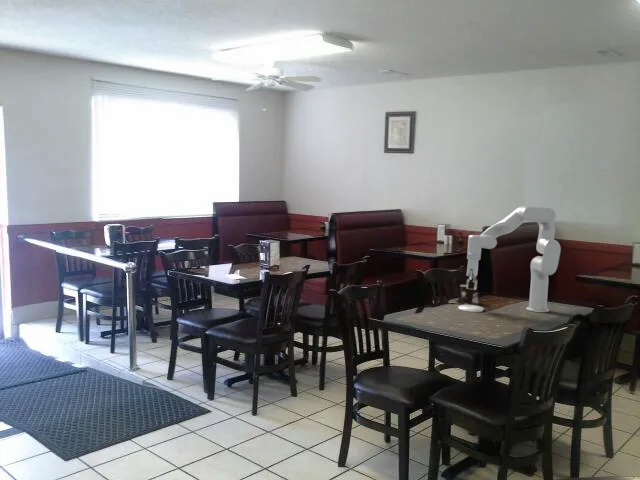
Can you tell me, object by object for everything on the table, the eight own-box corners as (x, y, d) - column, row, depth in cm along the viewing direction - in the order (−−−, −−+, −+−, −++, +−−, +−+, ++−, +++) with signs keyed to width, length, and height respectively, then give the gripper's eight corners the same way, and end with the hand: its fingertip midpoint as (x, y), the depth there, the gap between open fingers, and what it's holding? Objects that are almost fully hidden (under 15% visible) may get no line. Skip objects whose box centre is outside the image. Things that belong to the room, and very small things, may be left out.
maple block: (467, 287, 337) (468, 279, 336) (476, 288, 335) (477, 279, 334) (466, 288, 332) (467, 280, 332) (475, 289, 330) (476, 281, 330)
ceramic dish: (460, 305, 344) (460, 303, 343) (484, 308, 338) (485, 306, 338) (456, 310, 331) (456, 308, 331) (481, 313, 325) (481, 311, 325)
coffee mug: (456, 300, 359) (457, 284, 358) (468, 300, 361) (469, 284, 361) (466, 304, 348) (467, 288, 347) (479, 304, 350) (480, 288, 349)
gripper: (469, 254, 341) (467, 285, 342) (464, 257, 325) (462, 289, 327) (482, 255, 338) (480, 286, 339) (478, 258, 322) (476, 291, 324)
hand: (471, 287), depth 333 cm, fingers closed on maple block, 4 cm apart
